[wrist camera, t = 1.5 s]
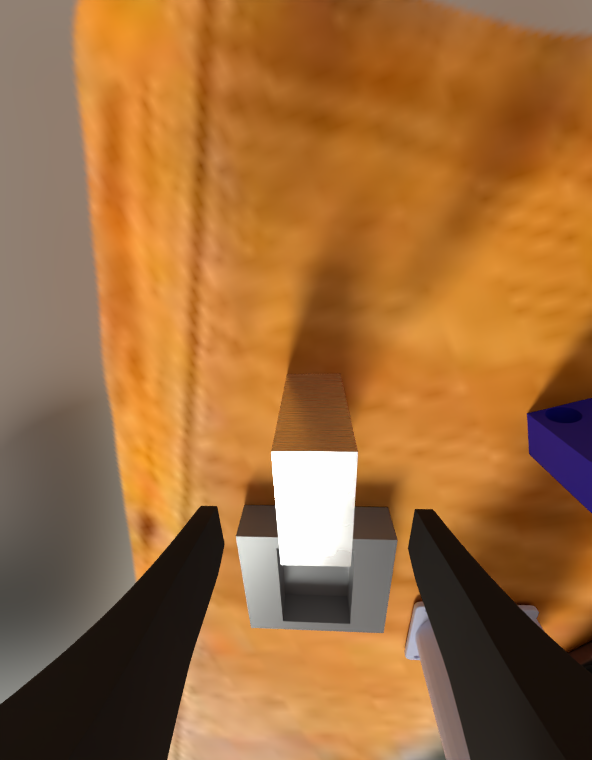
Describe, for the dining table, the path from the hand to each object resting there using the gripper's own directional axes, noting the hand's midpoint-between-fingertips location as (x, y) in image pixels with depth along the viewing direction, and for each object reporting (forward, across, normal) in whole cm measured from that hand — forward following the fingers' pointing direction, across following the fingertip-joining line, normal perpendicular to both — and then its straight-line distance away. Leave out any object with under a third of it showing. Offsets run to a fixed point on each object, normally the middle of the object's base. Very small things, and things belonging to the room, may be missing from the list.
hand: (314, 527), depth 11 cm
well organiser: (+8, 0, +12) cm, 14 cm away
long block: (+8, 0, 0) cm, 8 cm away
